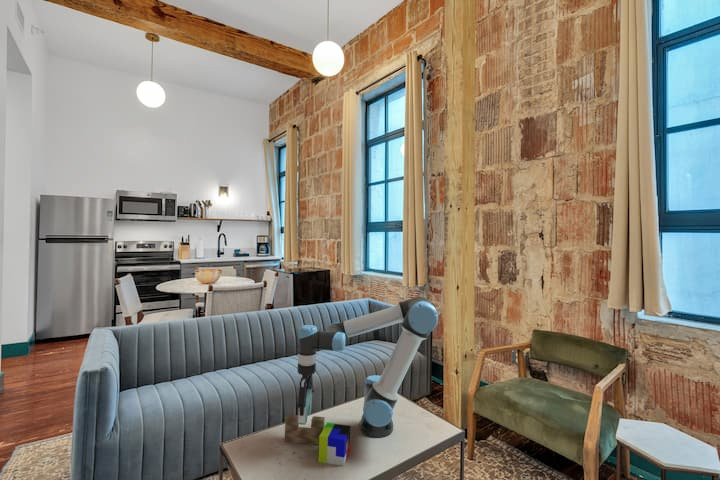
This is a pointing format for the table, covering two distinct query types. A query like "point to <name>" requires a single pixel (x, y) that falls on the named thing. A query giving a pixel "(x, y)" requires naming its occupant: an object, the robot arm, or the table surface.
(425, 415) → the table surface
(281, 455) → the table surface
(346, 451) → the puzzle toy
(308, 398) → the notched teal block
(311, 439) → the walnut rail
